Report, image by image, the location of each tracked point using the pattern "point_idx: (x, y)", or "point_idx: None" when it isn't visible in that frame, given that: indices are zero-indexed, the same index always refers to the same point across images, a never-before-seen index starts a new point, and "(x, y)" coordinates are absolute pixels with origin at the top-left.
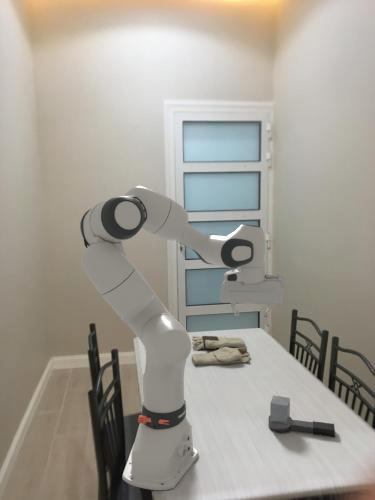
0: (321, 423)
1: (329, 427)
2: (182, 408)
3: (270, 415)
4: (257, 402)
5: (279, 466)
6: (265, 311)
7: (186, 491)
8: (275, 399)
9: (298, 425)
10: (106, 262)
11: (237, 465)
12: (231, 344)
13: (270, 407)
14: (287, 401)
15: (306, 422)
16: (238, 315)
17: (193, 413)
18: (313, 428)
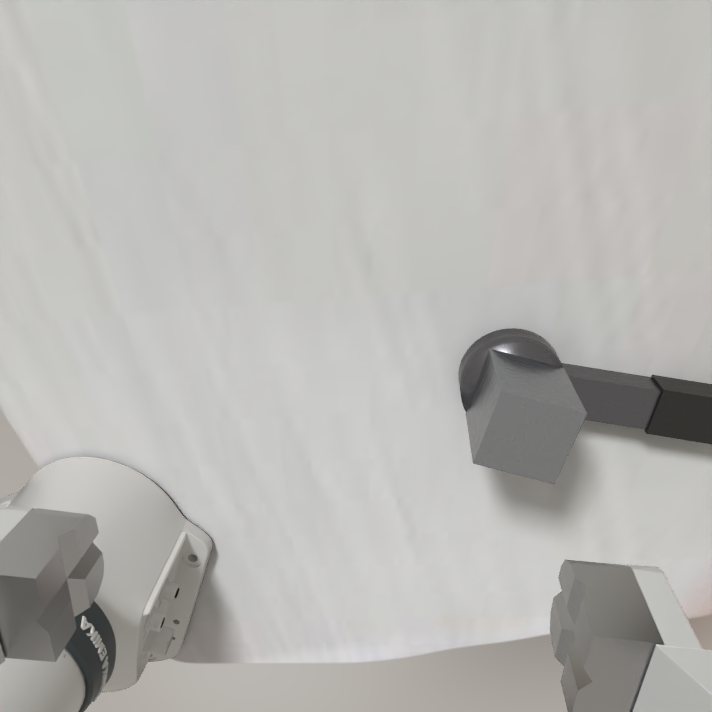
0: (697, 405)
1: None
2: (91, 699)
3: (468, 429)
4: (425, 159)
5: (465, 574)
6: (620, 679)
7: (214, 653)
8: (504, 431)
9: (586, 418)
10: None
11: (337, 573)
12: None
13: (471, 450)
14: (564, 447)
15: (630, 394)
16: (90, 598)
17: (124, 296)
18: (646, 431)
